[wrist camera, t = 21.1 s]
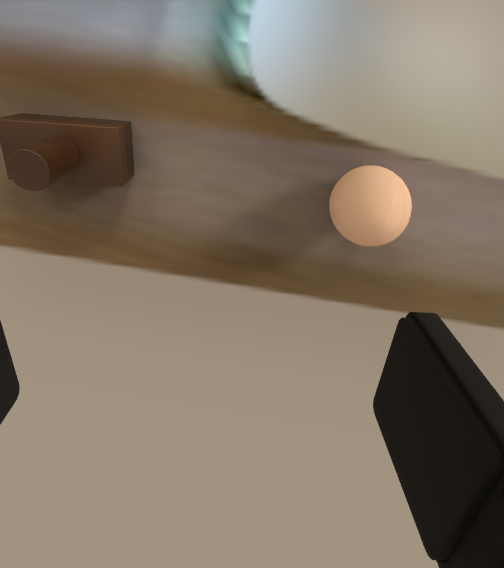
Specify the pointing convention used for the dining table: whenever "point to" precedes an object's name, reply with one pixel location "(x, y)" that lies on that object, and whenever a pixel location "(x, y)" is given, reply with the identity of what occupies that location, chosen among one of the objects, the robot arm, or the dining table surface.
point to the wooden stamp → (66, 150)
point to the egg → (370, 206)
